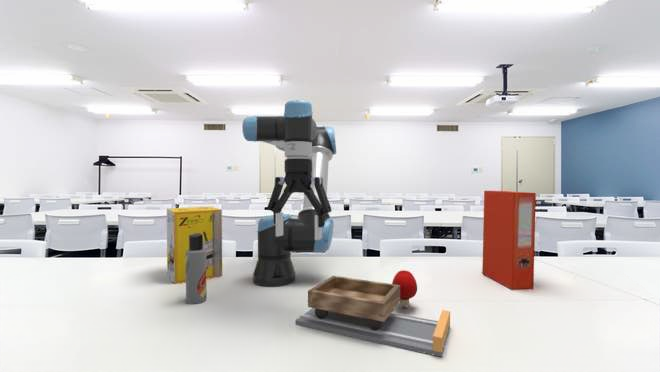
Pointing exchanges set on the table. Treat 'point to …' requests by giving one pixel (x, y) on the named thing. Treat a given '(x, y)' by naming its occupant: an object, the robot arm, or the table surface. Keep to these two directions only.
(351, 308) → the tray
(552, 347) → the table surface
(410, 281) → the light bulb
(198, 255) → the lotion bottle
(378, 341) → the track
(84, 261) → the table surface
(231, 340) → the table surface
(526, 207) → the file binder
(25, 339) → the table surface
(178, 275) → the packaging box
